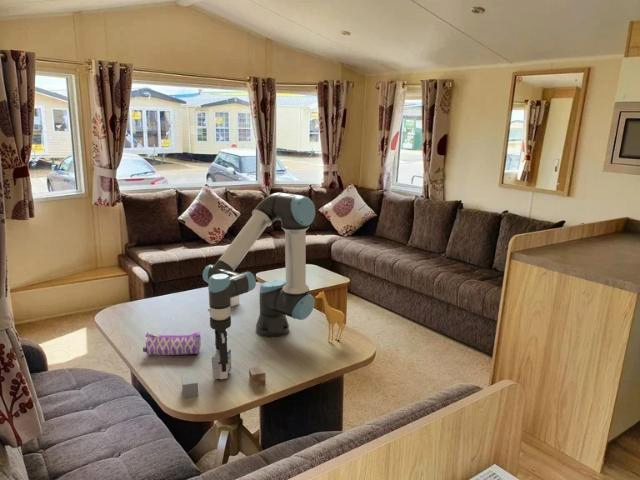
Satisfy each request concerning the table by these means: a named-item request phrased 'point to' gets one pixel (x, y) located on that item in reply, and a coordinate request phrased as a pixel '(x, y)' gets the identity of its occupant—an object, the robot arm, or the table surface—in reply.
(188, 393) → the slate grey block
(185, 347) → the pencil case
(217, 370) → the medicine box
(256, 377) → the walnut block
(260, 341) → the table surface
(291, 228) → the robot arm
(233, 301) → the jar
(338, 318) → the giraffe
